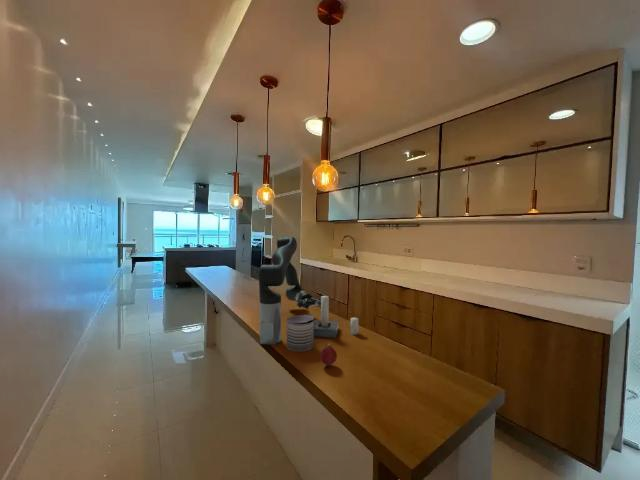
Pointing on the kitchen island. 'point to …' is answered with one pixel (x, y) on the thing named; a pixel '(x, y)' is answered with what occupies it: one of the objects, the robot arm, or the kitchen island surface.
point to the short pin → (354, 326)
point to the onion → (328, 355)
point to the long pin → (324, 311)
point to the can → (300, 332)
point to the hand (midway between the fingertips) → (315, 306)
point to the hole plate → (325, 329)
